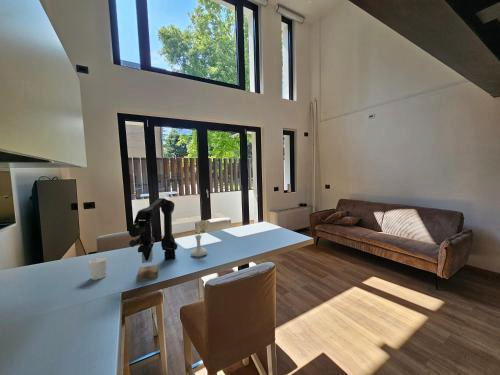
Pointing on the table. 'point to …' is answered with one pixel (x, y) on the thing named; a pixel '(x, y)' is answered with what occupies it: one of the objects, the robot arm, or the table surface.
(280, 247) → the table surface
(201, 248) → the flower in vase
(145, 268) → the tan block
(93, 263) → the white cup
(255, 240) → the table surface
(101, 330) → the table surface
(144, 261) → the gray cube
